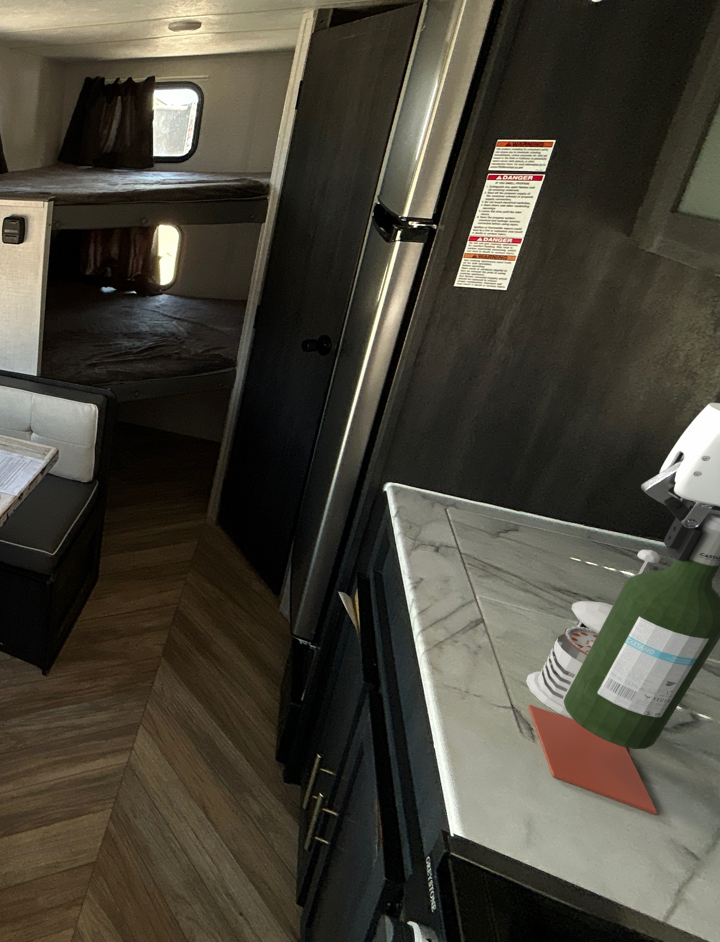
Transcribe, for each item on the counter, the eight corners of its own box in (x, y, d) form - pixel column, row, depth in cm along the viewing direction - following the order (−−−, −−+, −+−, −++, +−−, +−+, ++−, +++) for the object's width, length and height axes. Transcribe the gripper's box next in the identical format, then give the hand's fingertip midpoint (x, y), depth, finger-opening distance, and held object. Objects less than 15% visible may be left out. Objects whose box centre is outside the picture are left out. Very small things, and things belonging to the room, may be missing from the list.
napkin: (618, 736, 82) (619, 734, 82) (656, 814, 73) (657, 812, 73) (528, 706, 87) (529, 704, 87) (552, 776, 77) (553, 774, 77)
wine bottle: (632, 708, 79) (751, 506, 68) (668, 761, 73) (807, 546, 61) (551, 687, 82) (652, 489, 71) (578, 735, 76) (695, 526, 64)
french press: (529, 704, 87) (604, 555, 78) (521, 653, 96) (587, 514, 86) (631, 743, 81) (724, 587, 72) (612, 685, 90) (693, 540, 81)
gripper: (892, 409, 60) (792, 565, 67) (653, 378, 68) (585, 521, 75) (954, 439, 54) (837, 607, 61) (684, 400, 62) (607, 554, 69)
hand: (699, 558), depth 68 cm, fingers closed on wine bottle, 2 cm apart
